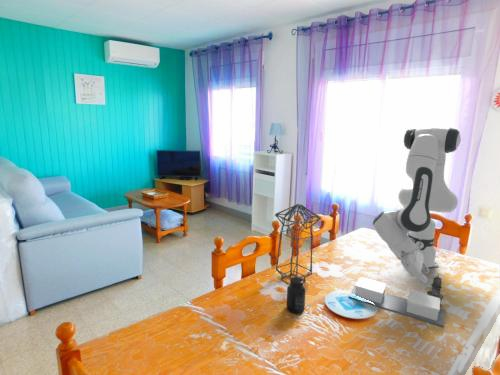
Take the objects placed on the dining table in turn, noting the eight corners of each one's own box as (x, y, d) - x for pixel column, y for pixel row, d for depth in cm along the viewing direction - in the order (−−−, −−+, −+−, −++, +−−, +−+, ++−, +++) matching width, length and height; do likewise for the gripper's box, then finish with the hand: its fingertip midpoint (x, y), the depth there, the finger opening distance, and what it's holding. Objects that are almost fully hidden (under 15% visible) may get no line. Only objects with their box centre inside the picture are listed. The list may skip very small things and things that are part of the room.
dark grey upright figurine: (444, 308, 122) (449, 279, 120) (428, 305, 123) (432, 277, 121) (439, 300, 128) (443, 272, 125) (423, 298, 129) (427, 270, 126)
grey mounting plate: (355, 285, 137) (357, 274, 136) (443, 310, 120) (445, 298, 119) (348, 297, 127) (349, 285, 126) (443, 327, 110) (445, 313, 109)
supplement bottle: (305, 306, 120) (307, 277, 118) (302, 316, 114) (304, 286, 111) (288, 302, 122) (289, 274, 120) (284, 312, 116) (286, 282, 114)
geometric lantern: (268, 278, 141) (272, 202, 135) (293, 269, 151) (298, 198, 145) (293, 292, 129) (299, 210, 123) (318, 283, 139) (325, 205, 133)
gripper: (407, 252, 118) (433, 284, 115) (412, 237, 135) (435, 264, 132) (392, 260, 121) (417, 291, 118) (400, 244, 138) (422, 271, 135)
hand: (427, 277), depth 125 cm, fingers open, 8 cm apart
